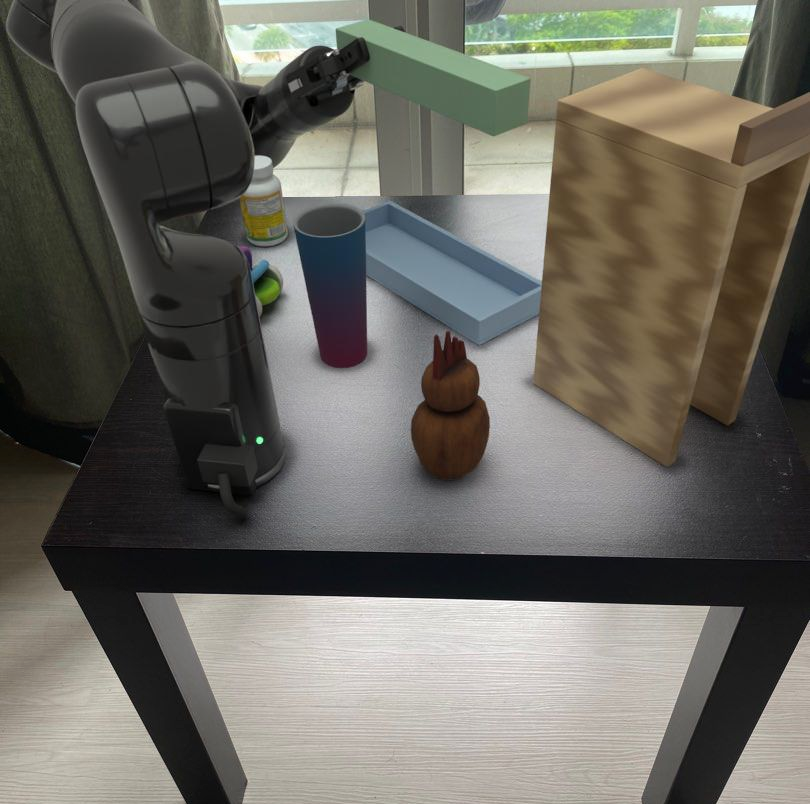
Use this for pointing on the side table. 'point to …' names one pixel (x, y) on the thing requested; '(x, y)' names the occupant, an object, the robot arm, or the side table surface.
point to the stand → (664, 250)
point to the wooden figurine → (450, 414)
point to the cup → (335, 279)
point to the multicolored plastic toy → (264, 280)
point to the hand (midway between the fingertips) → (384, 42)
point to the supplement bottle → (264, 206)
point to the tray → (447, 274)
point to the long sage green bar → (440, 78)
